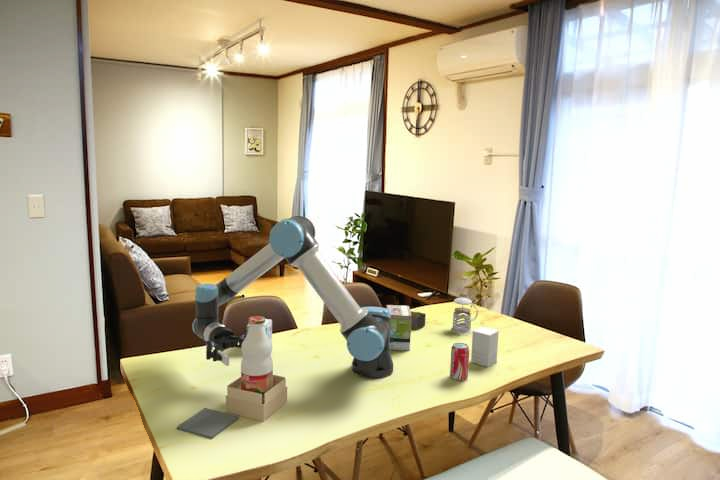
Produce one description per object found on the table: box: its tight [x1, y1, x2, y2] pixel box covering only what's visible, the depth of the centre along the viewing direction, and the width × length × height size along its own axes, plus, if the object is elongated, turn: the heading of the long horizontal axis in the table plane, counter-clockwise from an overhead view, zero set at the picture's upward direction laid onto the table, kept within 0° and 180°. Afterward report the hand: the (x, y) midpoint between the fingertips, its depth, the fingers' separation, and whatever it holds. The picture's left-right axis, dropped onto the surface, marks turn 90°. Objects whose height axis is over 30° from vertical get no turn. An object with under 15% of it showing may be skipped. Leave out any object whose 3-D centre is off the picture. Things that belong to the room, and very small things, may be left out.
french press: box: [450, 276, 479, 335], centre depth 226 cm, size 10×12×25 cm
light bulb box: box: [246, 318, 273, 343], centre depth 199 cm, size 11×7×11 cm, turn 168°
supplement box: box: [470, 326, 499, 368], centre depth 191 cm, size 7×7×13 cm
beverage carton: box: [410, 310, 427, 331], centre depth 234 cm, size 8×19×7 cm, turn 60°
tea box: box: [386, 304, 412, 351], centre depth 208 cm, size 15×10×15 cm, turn 179°
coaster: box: [176, 407, 240, 439], centre depth 143 cm, size 12×12×1 cm
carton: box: [225, 374, 288, 422], centre depth 152 cm, size 13×13×8 cm
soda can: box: [449, 342, 471, 381], centre depth 177 cm, size 6×6×12 cm
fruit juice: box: [240, 315, 274, 404], centre depth 151 cm, size 9×9×28 cm
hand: (248, 356), depth 153 cm, fingers open, 13 cm apart
